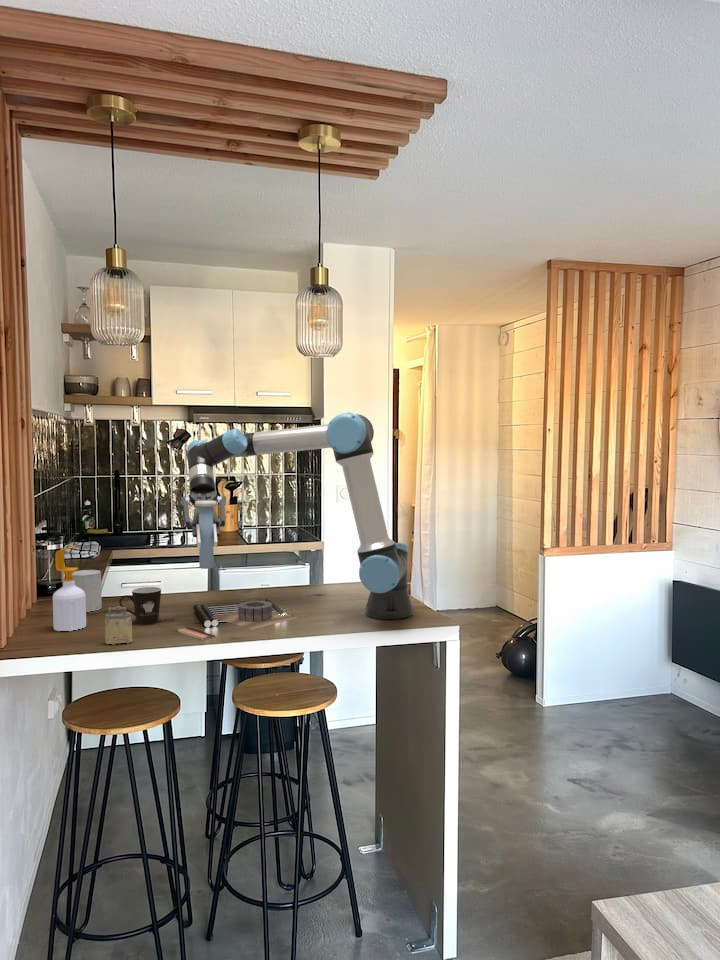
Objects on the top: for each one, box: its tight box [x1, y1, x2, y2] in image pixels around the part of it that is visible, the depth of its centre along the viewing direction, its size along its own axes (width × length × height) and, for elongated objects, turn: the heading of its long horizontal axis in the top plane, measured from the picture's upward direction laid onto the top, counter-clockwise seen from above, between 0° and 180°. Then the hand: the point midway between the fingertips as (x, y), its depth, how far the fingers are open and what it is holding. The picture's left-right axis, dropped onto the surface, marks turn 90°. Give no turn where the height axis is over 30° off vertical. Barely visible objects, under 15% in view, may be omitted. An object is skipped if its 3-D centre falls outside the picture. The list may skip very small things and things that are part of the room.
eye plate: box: [211, 600, 300, 630], centre depth 215 cm, size 20×18×6 cm
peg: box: [195, 500, 218, 570], centre depth 203 cm, size 6×6×19 cm
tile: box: [178, 626, 216, 641], centre depth 205 cm, size 12×12×1 cm
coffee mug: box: [118, 586, 162, 626], centre depth 215 cm, size 12×9×10 cm
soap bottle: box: [52, 545, 87, 632], centre depth 208 cm, size 9×9×25 cm
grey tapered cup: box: [72, 569, 103, 613], centre depth 231 cm, size 10×10×12 cm
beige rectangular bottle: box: [104, 605, 133, 645], centre depth 194 cm, size 7×4×10 cm, turn 101°
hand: (207, 544), depth 200 cm, fingers closed on peg, 4 cm apart
